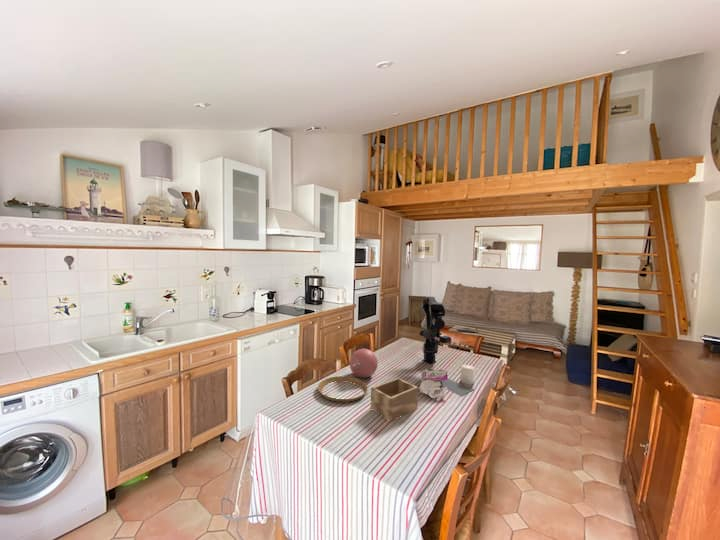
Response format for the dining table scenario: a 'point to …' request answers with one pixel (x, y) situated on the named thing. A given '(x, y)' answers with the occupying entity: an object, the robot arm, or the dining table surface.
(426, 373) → the candy bar box
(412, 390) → the rectangular brown crate
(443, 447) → the dining table surface
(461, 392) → the mat
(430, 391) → the coral
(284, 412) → the dining table surface
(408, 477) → the dining table surface
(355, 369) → the pink ball
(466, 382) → the cream domed cylinder
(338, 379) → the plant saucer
